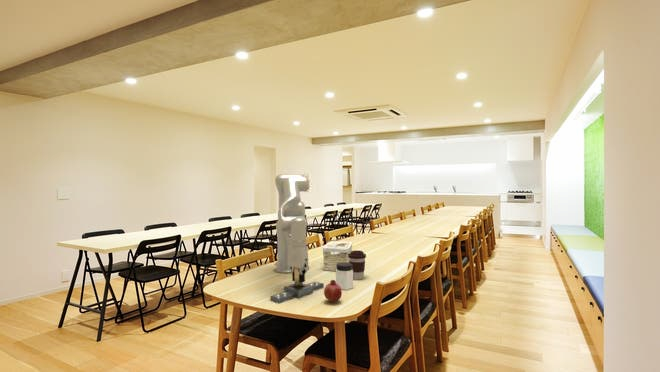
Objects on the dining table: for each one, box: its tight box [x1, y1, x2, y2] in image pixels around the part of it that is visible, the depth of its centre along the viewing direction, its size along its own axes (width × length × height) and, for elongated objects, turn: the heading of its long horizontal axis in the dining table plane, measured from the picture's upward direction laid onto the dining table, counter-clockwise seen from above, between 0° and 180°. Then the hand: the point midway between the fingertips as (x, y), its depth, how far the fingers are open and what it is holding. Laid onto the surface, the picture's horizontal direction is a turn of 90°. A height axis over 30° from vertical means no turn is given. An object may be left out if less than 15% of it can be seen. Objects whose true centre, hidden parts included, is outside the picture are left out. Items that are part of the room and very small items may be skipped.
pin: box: [293, 268, 304, 289], centre depth 165 cm, size 4×4×12 cm
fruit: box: [323, 279, 342, 303], centre depth 153 cm, size 8×8×10 cm
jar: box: [335, 262, 354, 291], centre depth 174 cm, size 9×8×12 cm
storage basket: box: [322, 240, 353, 272], centre depth 217 cm, size 24×16×15 cm
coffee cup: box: [348, 250, 367, 281], centre depth 191 cm, size 10×10×15 cm
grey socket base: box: [269, 281, 325, 304], centre depth 165 cm, size 10×30×3 cm, turn 140°
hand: (298, 281), depth 165 cm, fingers closed on pin, 4 cm apart
